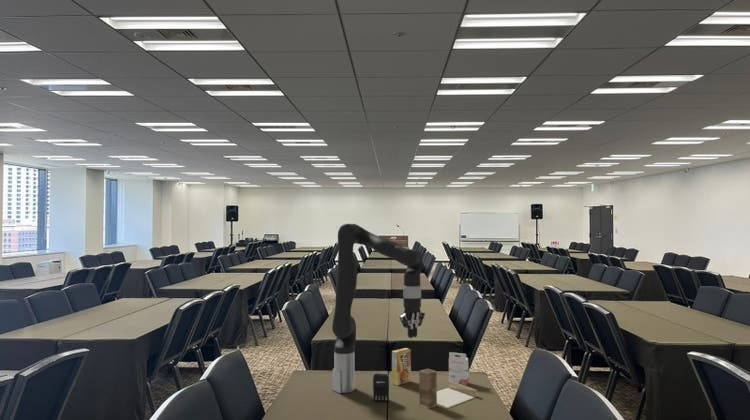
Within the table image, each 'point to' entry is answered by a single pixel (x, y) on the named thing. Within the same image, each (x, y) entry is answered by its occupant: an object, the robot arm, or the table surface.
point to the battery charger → (381, 387)
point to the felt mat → (451, 398)
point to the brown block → (428, 388)
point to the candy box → (401, 366)
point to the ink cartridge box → (458, 368)
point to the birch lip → (463, 389)
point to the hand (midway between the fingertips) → (412, 337)
